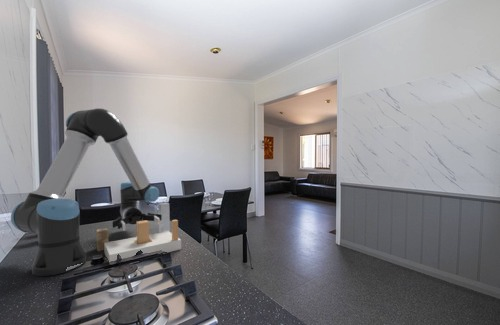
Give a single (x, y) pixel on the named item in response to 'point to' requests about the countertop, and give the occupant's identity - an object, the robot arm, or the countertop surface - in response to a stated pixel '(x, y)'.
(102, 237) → the pin short
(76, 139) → the robot arm
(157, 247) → the hole block
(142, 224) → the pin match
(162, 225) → the pin long
